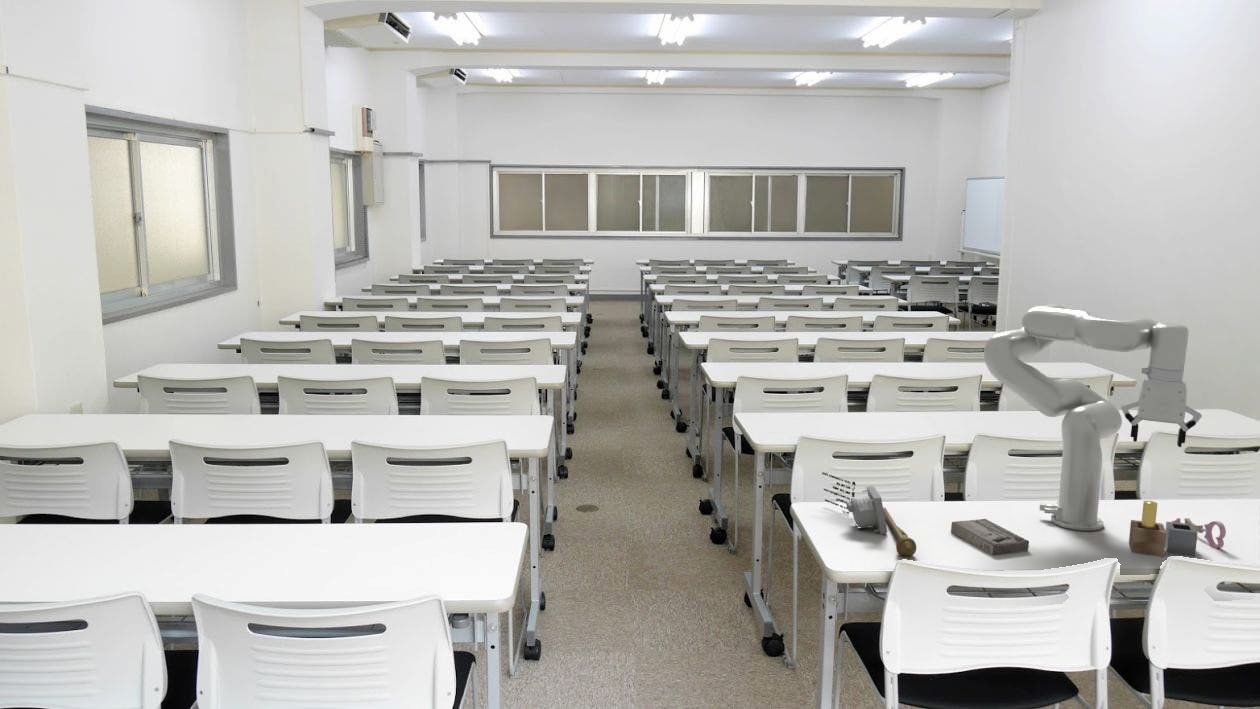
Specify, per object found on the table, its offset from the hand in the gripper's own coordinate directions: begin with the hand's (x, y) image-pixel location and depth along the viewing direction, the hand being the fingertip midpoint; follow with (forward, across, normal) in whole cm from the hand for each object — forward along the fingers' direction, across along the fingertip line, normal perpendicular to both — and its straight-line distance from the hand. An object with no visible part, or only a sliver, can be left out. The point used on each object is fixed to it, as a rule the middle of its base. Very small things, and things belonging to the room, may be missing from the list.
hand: (1156, 442), depth 240 cm
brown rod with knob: (+27, -57, -22) cm, 67 cm away
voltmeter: (+27, -70, -15) cm, 76 cm away
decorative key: (+26, +12, +11) cm, 31 cm away
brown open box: (+26, 0, -5) cm, 26 cm away
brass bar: (+26, 0, -5) cm, 26 cm away
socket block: (+26, +8, -2) cm, 27 cm away
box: (+27, -35, -16) cm, 47 cm away
